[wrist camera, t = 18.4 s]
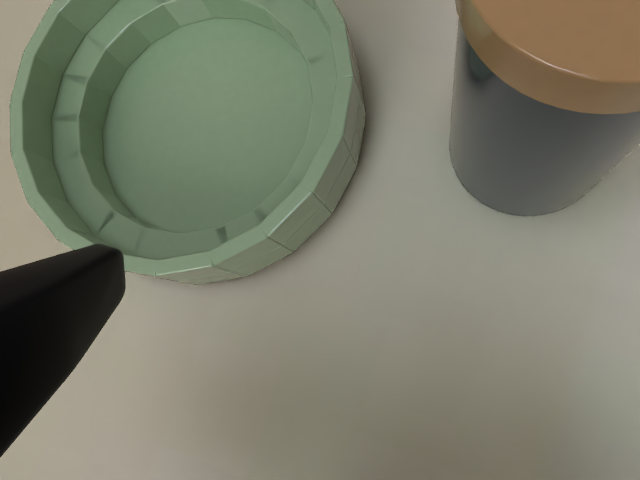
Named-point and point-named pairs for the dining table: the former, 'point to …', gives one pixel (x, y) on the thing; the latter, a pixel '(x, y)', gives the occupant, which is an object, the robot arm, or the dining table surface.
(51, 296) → the robot arm
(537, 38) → the canister
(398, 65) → the dining table surface
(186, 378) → the dining table surface
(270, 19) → the bowl
